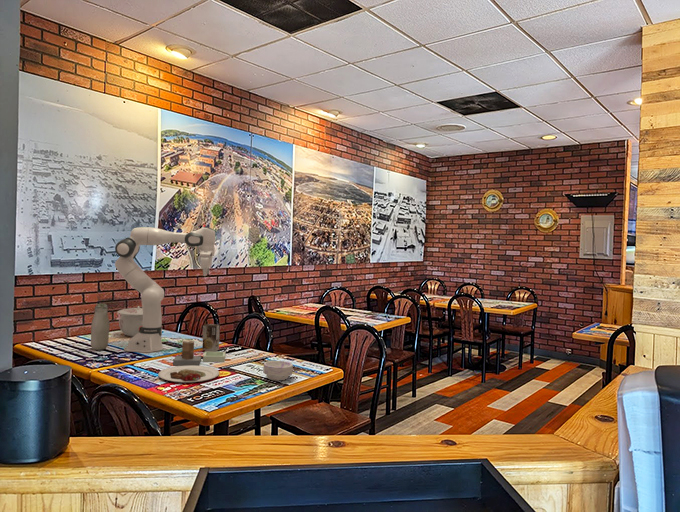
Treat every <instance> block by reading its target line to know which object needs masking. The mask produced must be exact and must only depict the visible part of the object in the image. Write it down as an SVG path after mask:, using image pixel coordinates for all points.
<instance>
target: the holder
mask: <svg viewBox="0 0 680 512" xmlns="http://www.w3.org/2000/svg"><path fill="white" fill-rule="evenodd" d="M225 361H226V351H204V353H203V356H202V362H203V363H225Z"/></svg>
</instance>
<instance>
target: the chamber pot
mask: <svg viewBox="0 0 680 512" xmlns="http://www.w3.org/2000/svg"><path fill="white" fill-rule="evenodd" d="M116 313H117V314H118V315H119V314H120V316H119V318H118V324H119V329H120V331H121V332H122V333H123V334H124V336H126V337H131V338H132V337H133V336H135V335H136V334H138V333H139V327H140V326H142V325H143V310H142V307H140V305H138V306H137V307H129V308H124V309H123V308H122V309H120V310H117V312H116Z"/></svg>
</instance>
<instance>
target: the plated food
mask: <svg viewBox="0 0 680 512" xmlns="http://www.w3.org/2000/svg"><path fill="white" fill-rule="evenodd" d="M157 375H158V378H160V379H162V380H166V381H169V382H174V383H182V384H183V383H187V384H188V383H190V384H191V383H197V382H198V383H200V382H205V381H209V380H212V379H215V378H217V377H218V376H219V375H220V371H219V370H218V369H216V368H215V367H210V366H205V365H199V366H196V365H188V366H172V367H168V368H164V369H162V370H160V371H159V372H158V374H157Z"/></svg>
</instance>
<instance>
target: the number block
mask: <svg viewBox="0 0 680 512" xmlns="http://www.w3.org/2000/svg"><path fill="white" fill-rule="evenodd" d="M181 344H182V347H181V356H182V358H184V359H187V360H188V359H193V356H195V354H194V353H195V352H194V351H195V340H193V339H182V343H181Z"/></svg>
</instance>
